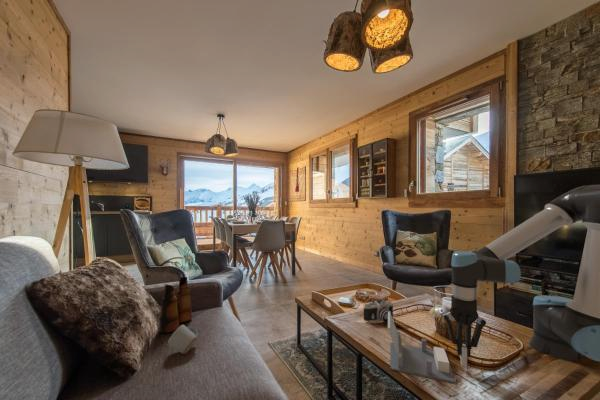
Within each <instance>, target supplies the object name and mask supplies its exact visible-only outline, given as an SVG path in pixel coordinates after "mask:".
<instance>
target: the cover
mask: <svg viewBox="0 0 600 400" xmlns="http://www.w3.org/2000/svg"><path fill="white" fill-rule="evenodd" d="M387 330H388V332H389V335H390V338H391V342H392V343H393V344H394V347H395V350H396V352H397V354H398V353H399V339H398V332H397V331H398V330H397V327H396V324H395V322H394V317H393V318H392V316H391V313H390V311H389V312H388V323H387Z"/></svg>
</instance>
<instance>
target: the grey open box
mask: <svg viewBox="0 0 600 400" xmlns="http://www.w3.org/2000/svg"><path fill="white" fill-rule="evenodd" d="M397 332H398V339H399V353H398V354H397V352H396V350H395V347H394V344H393V342H392V341H391V342H390V348H389V349H390V370H391V371H393V372H400V373H405V374H408V375H412V376H413V375H414V376H418V377H419V376H420V377H423V378H428V379H433V380H438V381H442V382H447V383H452V384H457V380H456V376H455V373H454V371H453V369H452V366H451V363H450V361H449V358H448V355H447V353H446V351H445V353H446V356H447V358H448V361H449V373H447V372H442V371H438V369H437V366H436V362H435V359H434V349H430V348H429V349H428V348H427V339H426V338H421V347H420V346H419V347H418V346H414V345H413V346H412V345H408V344H403V341H402V335H401V331H400V330H397Z"/></svg>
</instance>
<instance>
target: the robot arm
mask: <svg viewBox="0 0 600 400" xmlns="http://www.w3.org/2000/svg"><path fill="white" fill-rule="evenodd" d="M580 221H581V224H583V226H584V227H585V228H586V229H587V230H586V231H587V232H586V235H585V236H586V237H585V240H584V241H585V242H584V245H583V246H584V247H583V251H582V256H581V261H580V265H579V271H578V276H577V280H576V283H575V284H576V285H575V290H574V294H573V299H570V298H566V297H560V296H554V295H553V296H552V295H546V294H545V295H543V294H541V295H535V296H534V297H533V302H532V307H533V309H532V311H533V312H532V313H533V315H532V316H533V318H532V319H533V321H532V323H533V325H532V327H533V328H532V329H533V330H532V332H533V333H532V335H531V337H530V339H529V341H528V345H529V346H530V348H531V349H533V350H535V351H536V352H538V353H541V354H547V355H548V356H550V357H552V358H553V359H559V360H564V361H574V362H575V361H579V359H580V358H583V356H584V357H585V358H586V357H587V358H588V359H589V360H593V361H595V362H600V184H589V185H588V184H587V185H582V186H578V187H575V188H573V189H571V190H569V191H567V192H565V193H563V194H561V195H559V196H557V197H556V198H555V199H553V200H551V201H549V202H548V203H546V204H545V205H544V209H543V210H541V211H539V212H538V213H536V214H535V215H533V216H531V217H530V218H528V219H526V220H525V221H523V222H522V223H520V224H518V225H517V226H515V227H514V228H512V229H510V230H509V231H507V232H506V233H504V234H502V235H501V236H499V237H498V238H496V239H495V240H492V242H489V243H488V244H486V245H485V246H483V247H481V248H480V249H478V250H477V249H476V250H475V249H474V250H470V251H462V250H461V251H459V250H457V251H454V252H453V253H452V255H451V263H450V265H451V296H450V297H451V298H450V299H451V302H450V303H451V304H450V305H451V307H450V309H449V311H448V312H442V316H443V318H444V320H445V322H446V326H447V329H448V332H449V336H450V340H451V343H452V344H454V345H456V352H457V355H458V356H459V358H460V360H459V363H460V365H461V367H464V368H468V358H470V357H471V350H472V348H477V347H478V344H479V341H480V339H481V334H482V331H483V329H484V327H485V326H486V325H487V321H486V320H485V319H484V318H483V317H481V316H480V315H479V314H478V300H477V298H478V282H484V283H485V282H488V283H496V284H497V283H499V284H517V283H519V282H520V280H521V278H522V271H521V268H520V266H519V264H518V263H517V262H516V261H513V260H509V258H511V257H513V256H515V255H516V254H518V253H519V252H521V251H522V250H525V249H526V248H528V247H529V246H531V245H533V244H535V243H536V242H538V241H540V240H542V239H544V238H545V237H546V236H548V235H550V234H552V233H553V232H555V231H556V230H558V229H560V228H561V227H563V226H572V225H573V224H575V223H577V222H580ZM452 318H453V319H454V320H455V323H456V336H455V332H454V328H453V324H452V322H451V320H452ZM475 322H476V323H475ZM474 323H475V327H474V330H473V334H472V325H473V324H474ZM463 327H464V343H465V344H464V343H463Z"/></svg>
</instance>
